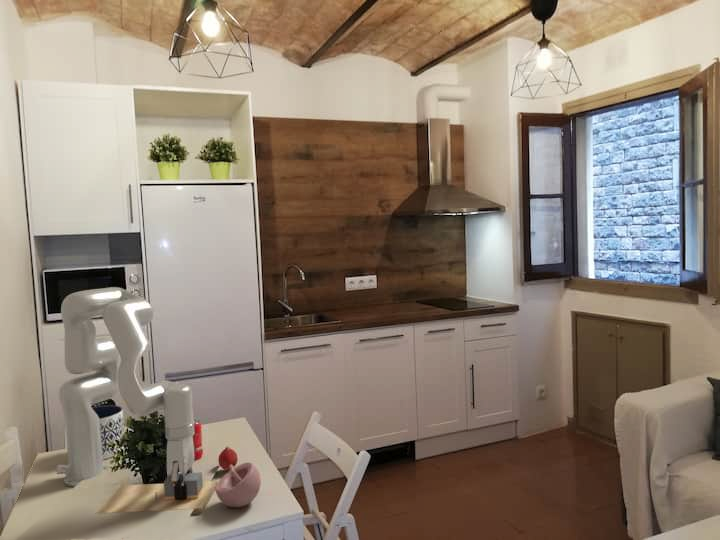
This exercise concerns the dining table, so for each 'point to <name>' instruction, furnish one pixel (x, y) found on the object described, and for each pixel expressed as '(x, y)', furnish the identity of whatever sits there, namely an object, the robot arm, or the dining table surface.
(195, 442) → the beverage can
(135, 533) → the dining table surface
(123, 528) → the dining table surface
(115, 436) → the planter
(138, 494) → the oak board
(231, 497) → the mortar and pestle
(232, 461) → the pomegranate
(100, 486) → the dining table surface
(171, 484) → the block
